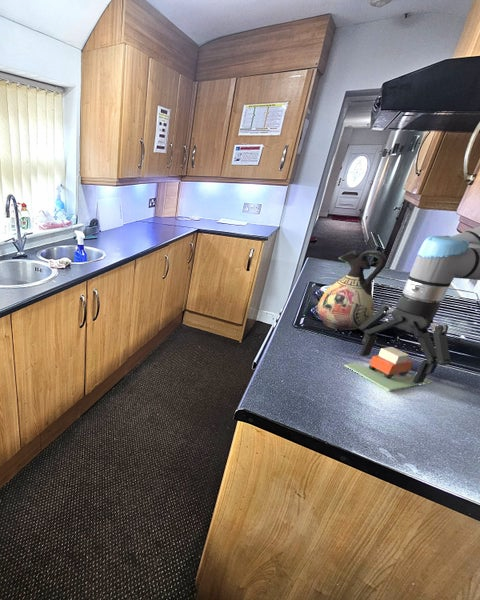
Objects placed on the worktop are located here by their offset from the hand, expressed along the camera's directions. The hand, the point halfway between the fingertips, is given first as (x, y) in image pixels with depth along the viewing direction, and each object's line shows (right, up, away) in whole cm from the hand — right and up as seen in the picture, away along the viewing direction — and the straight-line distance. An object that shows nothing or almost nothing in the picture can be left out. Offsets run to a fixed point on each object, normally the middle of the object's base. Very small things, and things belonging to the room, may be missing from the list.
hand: (389, 367), depth 92 cm
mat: (0, -2, +1) cm, 2 cm away
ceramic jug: (+7, +8, +27) cm, 29 cm away
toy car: (0, -1, +1) cm, 2 cm away
